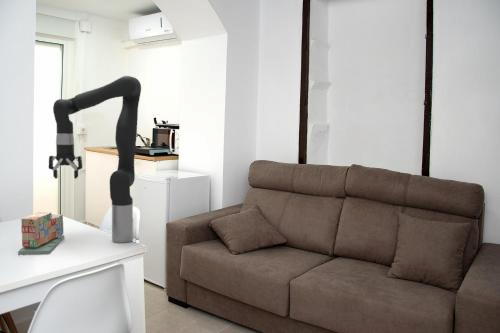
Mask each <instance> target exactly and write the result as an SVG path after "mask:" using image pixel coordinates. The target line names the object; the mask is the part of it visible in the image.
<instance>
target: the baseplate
mask: <svg viewBox="0 0 500 333" xmlns="http://www.w3.org/2000/svg"><path fill="white" fill-rule="evenodd" d="M64 239H65V234H62V235H60V236H58V237H56V238H54V239H52V240H50V241H48V242H46V243H44V244H42V245H40V246H38V247H36V248H35V247H21V248H20V249H19V250H18V251H17V254H18V256H19V255H21V256H22V255H24V256H27V255H50V254H51V253H52V252H53V251H54V250H55V249H56V248H57V246H59V245H60V243H62V241H63V240H64Z"/></svg>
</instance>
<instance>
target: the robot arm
mask: <svg viewBox="0 0 500 333" xmlns="http://www.w3.org/2000/svg"><path fill="white" fill-rule="evenodd" d="M141 93H142V84H141V82H140V80H139V79H137V77H134V76H130V75H124V76H121V77H119V78H118V79H115V80H113V81H111V82H110V83H108V84H105V85H103V86H101V87H98V88H93V89H91V90H88V91H84V92H82V93H79V94H76V95H75V96H74V97H71V98H67V99H65V98H63V99H61V98H60V99H57V100H55V101H54V103H53V106H52V109H53V110H52V111H53V117H54V120H55V123H56V139H55V146H56V148H55V150H56V152H55V153H56V155H49V156H48V169H49V170H52V172H53V173H52V174H53V178H54V179H58V178H59V175H58V173H59V172H58V169H59V167H60V166H67V167H68V166H70V167H72V169H73V176H74V177H73V178H74V180H77V178H78V177H79V170H82V169H83V158H82V156H81V155H79V156H77V155H75V138H74V124H73V121H71V120H70V115H74V114H76V113H79V112H80V111H83V110H86V109H90V108H92V107H95V106H98V105H100V104H102V103H104V102H106V101H108V100H111V99H116V98H122V105H121V109H120V110H121V111H120V113H119V116H118V118H117V121H116V126H115V135H114V136H115V145H116V149H117V154H118V162H117V164H118V165H117V170H115V171H113V172H112V173H111V175H110V177H109V196H110V200H111V240H112V242H113V243H116V244H117V243H121V244H123V243H131V242H133V240H134V218H133V216H134V215H133V214H134V213H133V211H134V210H133V205H134V204H133V197H132V196H131V188H130V187H132V186H133V185H134V183H135V178H136V175H135V155H136V145H137V137H138V136H137V134H138V116H139V115H138V114H139V103H140V98H141ZM55 160H56V161H57V162H56V164H55V165H54V161H55ZM75 160H76V162H77V165H76V163H75Z"/></svg>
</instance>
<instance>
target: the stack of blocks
mask: <svg viewBox="0 0 500 333" xmlns="http://www.w3.org/2000/svg"><path fill="white" fill-rule="evenodd" d="M20 220H21V222H20V223H21V243H22V244H21V245H22V246H21V248H23V247H35V248H36V247H38V246H40V245H42V244H44V243H46V242H48V241H50V240H52V239H54V238H56V237H58V236H60V235H64V215H63V214H56V213H55V214H53V213H52V212H50V211H49V212H48V211H47V212H45V211H37V212H35V213H32V214H30V215H27V216H24V217H21V219H20Z"/></svg>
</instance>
